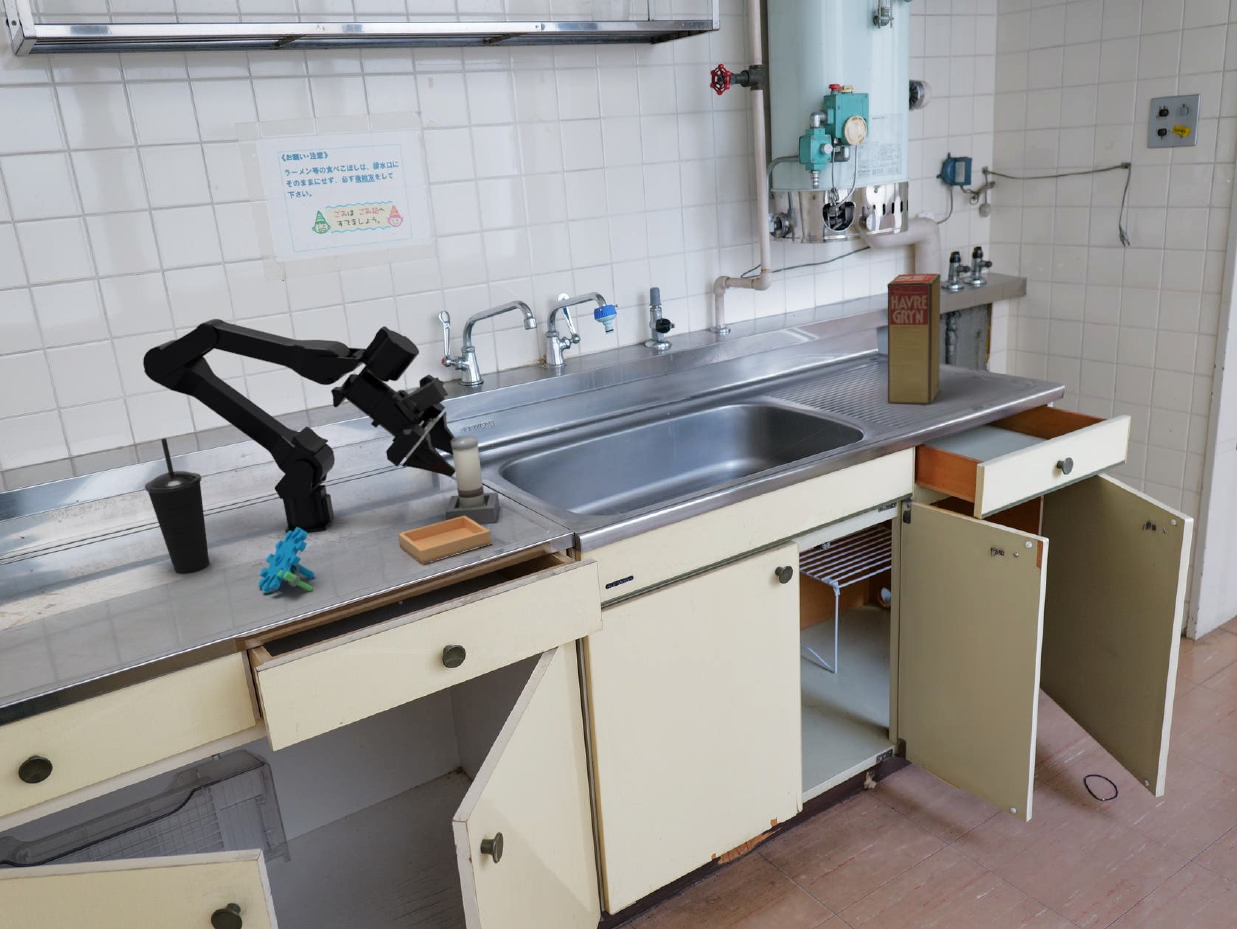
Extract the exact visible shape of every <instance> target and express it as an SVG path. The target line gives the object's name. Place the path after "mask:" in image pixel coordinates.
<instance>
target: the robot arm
mask: <svg viewBox="0 0 1237 929" xmlns="http://www.w3.org/2000/svg"><path fill="white" fill-rule="evenodd" d="M214 349H215V350H219V351H221V352H222V351H223V352H226V353H231V354H234V355H239V356H243V357H246V358H250V359H255V360H257V361H258V360H259V361H263V362H267V363H271V364H275V365H278V366H282V367H283V366H284V367H285V368H287V369H289V370H292V371H293V372H294V373H296V374H297V375H299V376H300V377H303V378H305V379H307V380H309V381H312V382H314V383H316V384H318V385H323V386H329V385H332V384H335V383H336V382H338V381H339V380H340V379H342V378H343V377H345V376H347V374H349V376H348V377H347V378H346V379H345V381H344V382H343V384H342V385H341V386H335V387H333V388H332V389H331V391H330V393H331V396H332V401H333V402H332V406H333V407H334V408H338V407H339V406H340V405H342V404H343V403H344V402H345V401H346V400H347V401H348V402H349V403H350V404H352V406H355V407H356V408H357V409H358V410H360V412H362V413H363V414H365V415H366V416H367V417H369V418H370V419H371V420H372V422H371V423H370V425H372V426H373V427H374V428H378V427H381V428H382V429H384V430H385V431H387V433H389V434H390V435H392V436H393V438H392V443H391V445H389V447H388V448H387V449H386V451H385V454H386V459H387V460H388V461H389V462H390V463H392V465H394V466H396V468H398V467H399V465H400V464H401V463H402V462H403V460H404V459H406V460H404V462H403V463H402V465H401V466H402V467H403V468H405V467H409V468H413V469H419V470H422V471H423V470H424V471H427V472H428V471H429V472H431V473H432V472H433V473H436V474H440V475H442V476H443V475H444V476H448V477H453V475H455V474H456V473H455V467H453V466H452V465H451V464H450V463H449V462H448V461H447V459H445V458H444V457H443V455H441V454H440V453H439V452H438V451H437V450H440V451H442V452H444V453H447V454H449V455H452V456H453V450H452V447H451V440H452V439H453V438H456V437H455V435H454V434H453V433H452V431H451V430H450V429H449V427H448V424H447V415H448V414H447V411H444V410H445V409H446V406H444V405H443V404H442V402H443V401H444V400H445V397H447V396H448V395H449V394H448V392H447V391H446V388H445V387H444V385H445V382H444V381H443V380H440V378H439V377H438V376H436V377H434V376H432V375H431V374H427V375H426V376H424V377H421V378H420V379H419V380H418V381H419V382H418V383H419V387H418V388H416V389H415V390H413V391H412V392H410V393H408V392H407V391H405V390H404V389H399V390H398V391H396V390H395V389H393V388H392V387H391V386H389V385H388V382H390V381H393V382H397V381H398V380H399V379H400V378H401V376H402V375H403V374H404V373H405V372H406V371H407V370H408V368H409V366H410V365H411V364H412V363H414V362H413V361H415V359H416V357H418V355H419V354H420V350H419V348H418V346H417V345H416V343H414V342H413V341H412V340H411V339H409V337H407V336H406V335H402V334H401V333H399V332H397V331H395V330H390V329H389V327H387V326H386V325H383V326H382V327H380V328H379V330H378V331H377V332H376V333H375V336H374V338H373V339H372V340H371V342H370V343H369V344H368V346H367V347H366V348H359V347H349V346H348V345H347V344H345V343H343V342H341V341H337V340H326V339H325V340H324V339H293V338H289V337H286V336H282V335H277V334H273V333H271V332H265V331H262V330H259V329H258V330H257V329H254V328H250V327H246V326H241V325H237V324H233V323H229V322H226V321H224V320H223V319H219V318H212V319H210V320H207V321H204V322H201V323H200V324H198V325H197V327H195V328H194V329H193V330H191V331H190V332H188V333H186V334H185V335H183V336H181V337H179V338H178V339H171V340H170V341H167V342H164V343H162V344H159V345H156V346H154V347H152V348H150V349H148V350H147V351H146V353H145V354H144V357H143V359H142V364H143V370H144V373H145V375H146V377H147V378H149V379H150V380H151V381H153V382H154V383H157V385H160V386H162V387H164V388H166V389H168V390H170V391H173V392H176V393H179V394H183V395H187V396H190V397H192V398H195V399H196V400H197V401H199V402H200V403H202V404H203V405H204V406H206V407H207V408H208V409H210V410H211V411H213V412H215V413H216V415H218V416H220V417H221V418H222V419H224V420H225V421H227V422H228V423H229V424H231V425H232V426H233V427H235V428H236V429H237V430H239V431H240V432H242V433H243V434H244V435H245V436H247V437H248V438H250V439H252V441H253V442H255V443H257V444H258V445H260V446H262V447H263V449H265V450H266V451H267V452H268V453H270V455H271V457H272V459H273V460H274V462H275V464H276V465H277V468H278V469H279V470H281V471H282V473H283V474H284V475H283V476H282V478H281V479H280V480H279V481H278V482H277V484H276V485H275V486H274V490H275V491H276V494H277V496H278V497H279V499H281V500H282V502H283V509H284V512H285V516H286V518H285V519H286V524H287V526H286V527H285V529H284V532H285V534H287V532H289V531H292V532H294V530H295V529H296V527H298V528H300V529H302V530H304V531H305V532H307V533H308V532H316V531H318V532H319V531H325V530H326V529H327V528H328V527H329V525H330V523H331V522H333V519H334V518H335V514H334V509H333V508H334V507H333V503H332V496H331V494H330V493H328V492H327V487H326V484H323V483H325V481H326V480H327V477H328V473H329V472H330V471H331V470H332V469H333V467H334V465H335V460H336V458H335V454H334V450H333V448H332V447H331V446H330V445H329V444H327V443H328V442H329V440H328V439H326V438H323V437H321V436H319V435H318V434H317V433H316V432H315V431H314V430H313V429H312V428H310V427H309V426H305V427H304V428H303V429H301V430H300V431H298V430H294V429H291V428H289V427H287V426H286V425H284V424H283V423H282V422H281V421H279V420H277V419H276V418H275V417H273V415H271V414H269V413H268V412H267V411H265V410H264V409H262V408H261V407H259V406H258V405H257V404H255V403H254V402H253V401H252V400H250V399H248V398H247V397H246V396H245V395H243V394H242V393H241V392H239V391H238V390H237V389H235V388H234V387H232V386H231V385H230V384H228V383H227V382H226V381H224V380H223V379H221V378H220V377H219V376H217V375H216V374H215V372H214V371H213V370H212V368H211V366H210V364H209V363H208V360H207V359H206V358H205V357H204V356H206V355H208V354H209V353H210V352H212V351H213V350H214ZM362 365H365V366H364V367H363V368H362V370H361V371H360V372H359V373H358V374H357V373H351V372H354V371H355V370H356V369H357V368H359V367H360V366H362ZM443 411H444V413H443V414H442V415H441V413H442V412H443ZM440 415H441V416H440Z"/></svg>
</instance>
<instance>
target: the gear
mask: <svg viewBox="0 0 1237 929" xmlns="http://www.w3.org/2000/svg"><path fill="white" fill-rule="evenodd" d="M307 538H308V531H307V532H305V531H304V530H302V529H300V528H298V527H296V529H295V530H294V532H292V531H289V532H287V533H285V538H284V540H282V539H280V540H278V541H277V543H276V544H275V553H274V554H273V553H269V555H268V556H267V558H266V559H265V562H267V563H269V566H268V567H263V568H262V569H261V572H260V573H259V576H260V577H261V579H260V580H259V582H258V588H261V591H263V592H265V593H267V594H269V593H270V592H272V589H273V590H278V589H279V588H280V586H281V582H282V580H283V581H288V583H287V584H288V585H290V586H291V587H296V586H299V587H300V588H302V589H304V590H305V591H308V592H311V591H312V590H313V586H312V585H310V584H308V583H306V582H305V581H303V580H301V575H302V576H304V577H305V578H308V579H310V580H312V579H313V578H314V576H315V572H314V571H312V570H310V569H308V568H306V567H304V566H303V565H302V564H299V563H300V562H301V560H302V559H301V557H300V556H299V555H297V554H298V552H305V549H306V547H307V545H308V543H307V542H305V540H306V539H307ZM300 574H301V575H300Z"/></svg>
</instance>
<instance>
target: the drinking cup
mask: <svg viewBox="0 0 1237 929" xmlns="http://www.w3.org/2000/svg"><path fill="white" fill-rule="evenodd" d="M160 441H161V445H162V450H163V454H164V458H165V459H164V460H165V462H166V468H167V472H165V473H162V474H160V475H157V476H156V477H155V478H153V479H151V480H150V481H148V482H146V483H145V484H144V489H145V491H146V492H147V493H148V495H149V496H148V497H149V499H150V502H151V505H152V508H153V511H154V514H155V516H156V519H157V522H158V525H159V527H160V528H159V529H160V531H161V534H162V536H163V539H164V542H165V546H166V548H167V552H168V555H169V557H170V560H171V564H172V566H173V568H174V569H173V570H174V571H175V572H176V573H177V574H191V573H195V572H199V571H201V570H203V569H205V568H207V567H208V566H209V564H210V558H209V551H208V550H209V549H208V541H207V532H206V523H205V514H204V505H203V496H202V488H201V487H202V486H201V481H202V475H201V474H199V473H196V472H190V471H186V470H185V471H184V470H174V468H173V463H172V459H171V454H170V450H169V445H168V440H167V438H161V439H160Z"/></svg>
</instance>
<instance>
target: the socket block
mask: <svg viewBox="0 0 1237 929" xmlns="http://www.w3.org/2000/svg"><path fill="white" fill-rule="evenodd" d="M484 500H485V503H486V506H480V507H468V508H459V506H460V503H459V496H458V494H457V495H451V496H450V498H449V502H448V504H447V507H446V509H445V519H446V520H450V519H454V518H457V517H461V516H464V515H465V516H467V517H468V518H470V519H471V520H473V521H475V522H476V523H478V524H479V525H485V524H495V523H497V522H496V521H497V518H498V513H499V509H500V500H499V493H498V492H497V491H496V492H484ZM446 520H445V521H446Z"/></svg>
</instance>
